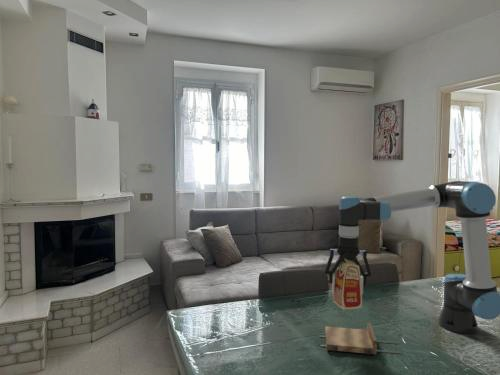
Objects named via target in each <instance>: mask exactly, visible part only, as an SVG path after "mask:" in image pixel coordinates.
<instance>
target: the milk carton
mask: <svg viewBox="0 0 500 375" xmlns="http://www.w3.org/2000/svg"><path fill="white" fill-rule="evenodd" d="M356 258H357V260H358V261H359V257H358V256H357V257H356ZM361 276H362V275H361V272H360V269H359V266H358V265H356V263H355V261H354V260H352V261H350V260H347V259H345V258H344V260H342V262H341V263H340V264H339V266H338V268H337V272H336V275H335V280H334V293H333V292H332V293H333V295H332V296H333V297H332V302H333V303H334V304H335V305H336V306H338V307H339V308H340V309H342V310H343V311H345V310H346V311H347V310H356V309H361V308H363V295H362V288H361Z"/></svg>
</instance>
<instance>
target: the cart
mask: <svg viewBox="0 0 500 375" xmlns="http://www.w3.org/2000/svg"><path fill="white" fill-rule="evenodd" d="M324 329H325V331H324V332H325V336H326V338H325V343H326V344H325V345H326V347H325V348H326V350H327V351H333V352H347V353H348V352H349V353H359V354H366V355H377V353H378V352H377V350H378V342H377V337H376V335H375V332H374V329H373V326H372V324H371V322H367V323H366V329H364V328H351V327H350V328H348V327H339V326H337V327H336V326H326V325H325V328H324Z"/></svg>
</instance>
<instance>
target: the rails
mask: <svg viewBox="0 0 500 375" xmlns="http://www.w3.org/2000/svg"><path fill="white" fill-rule="evenodd" d="M319 338H325V339H326V335H319ZM376 340H377V339H376ZM377 343H380V344H383V343H384V344H393V345H398V343H397V341H389V340H388V341H387V340H377ZM319 346H320V347H322V348H326V344H320V345H319ZM376 353H386V354H396V355H402V354H403V353H402V351H395V350H394V351H393V350H383V349H377V352H376Z"/></svg>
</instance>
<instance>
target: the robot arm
mask: <svg viewBox="0 0 500 375" xmlns="http://www.w3.org/2000/svg"><path fill="white" fill-rule="evenodd" d="M496 198H497V197H496V194H495V191H494V190H493V189H492V188H491V186H489V185H488V184H487V183H483V182H479V181H461V180H455V181H449V182H443V183H441V184H440V183H439V184H436V185H430V186H428V187H427V188H426V189H425V188H423V189H417V190H411V191H404V192H399V193H392V194H386V195H379V196H373V197H366V198H361V197H359V196H347V195H346V196H344V195H343V196H342V197H340V199H339V206H338V211H339V212H338V219H339V220H338V235H339V236H338V243H337V244H338V246H337V248H330V250H329V252H330V254H329V257H328V260H327V262H326V265H325V269H324V274H325V275H326V274H327V275H328V276H329V278H328V279H329V280H328V282H329V284H331V292H332V293H334V286H335V280H336V275H335V272H336V270H338V268H339V264H340V263H341V262H342V260H344V258H345V259H347V260H350V261H352V260H354V261H355V263H356V265H358V266H359V269H360V274H361V275H360V276H361V288H362V296H363V295H364V286H366V285H367V278H368V277H372V272H371V269H370V268H371V267H370V264H369V261H368V258H367V254H368V253H367V252H368V251H367V250H366V249H363V250H361V249H360V248H359V241H360V240H359V235H360V234H359V233H360V231H359V230H360V228H359V227H360V222H387V221H389V220H390V218H391V217H392V213H395V212H402V211H408V210H415V209H420V208H421V209H422V208H428V207H431V208H432V209H433V208H434V209H438V208H447V209H448V208H449V209H450V208H451V209H455V217H456V218H457V219H459V220H460V224H461V235H462V246H463V257H464V266H465V268H464V269H465V274H464V273H448V274H445V276H444V281H443V307H442V309H441V311H440V313H439V316H438V319H437V320H438V325H439V326H440V327H441V328H443V329H445V330H446V331H447V330H448V331H451V332H453V333H459V334H466V335H467V334H468V335H470V334H475V333H478V331H479V330H478V327H479V326H478V325H479V324H478V321H477V319H476V317H479V318H481V319H483V320H487V321H488V320H495V319H496V318H498V317H500V293H499V292H498V288H497V287H498V286H497V282H496V281H495V280H494V279H492V272H491V259H490V250H489V238H488V227H487V219H489V217H490V216H491V211H492V210H493V209H494V207H495V206H496V203H497V199H496ZM336 254H338V255H339V256H338V258H337V260H336V261H335V263H334V264H333V266H332V265H331V264H332V262H333V259H334V256H335V255H336ZM359 254H360V256H361V257H362V260H363V262H364V263H363V264H364V266H365V269H363V267H362V265H361V264H360V262H359V259H358V260H357V258H356V257H358V256H359ZM331 266H332V267H331ZM330 268H331V269H330ZM365 270H366V272H365Z"/></svg>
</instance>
